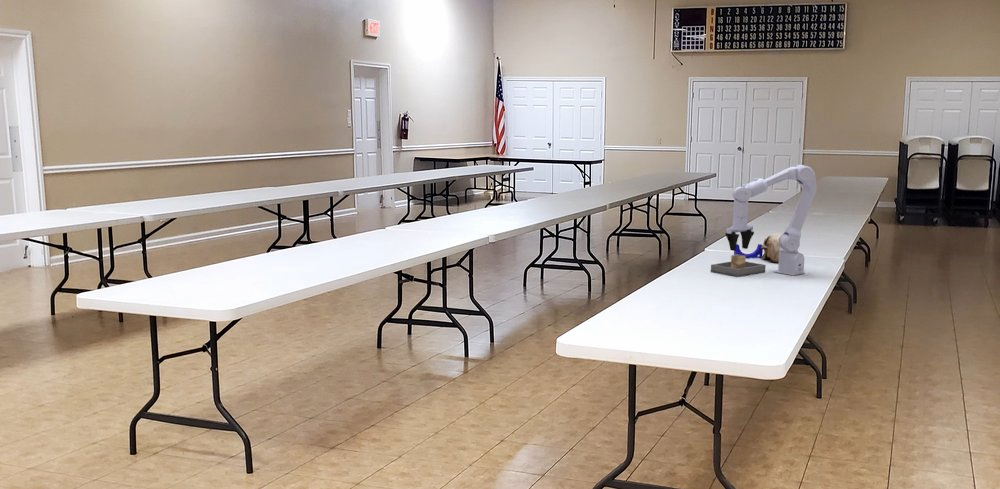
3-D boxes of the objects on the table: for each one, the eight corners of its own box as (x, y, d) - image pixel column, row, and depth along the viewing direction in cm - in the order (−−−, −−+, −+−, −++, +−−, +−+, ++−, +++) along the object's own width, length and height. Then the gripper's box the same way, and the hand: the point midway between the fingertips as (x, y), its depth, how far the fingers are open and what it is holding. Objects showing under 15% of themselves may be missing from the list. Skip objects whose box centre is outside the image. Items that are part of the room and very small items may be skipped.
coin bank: (769, 255, 384) (773, 227, 380) (803, 264, 371) (807, 235, 367) (749, 260, 374) (752, 231, 370) (783, 270, 361) (787, 240, 358)
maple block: (744, 270, 345) (745, 255, 344) (738, 271, 343) (739, 256, 342) (736, 268, 348) (737, 254, 347) (730, 269, 346) (731, 255, 345)
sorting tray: (765, 272, 345) (765, 264, 345) (737, 277, 335) (738, 269, 335) (738, 267, 356) (738, 260, 356) (710, 271, 346) (711, 264, 345)
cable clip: (735, 258, 377) (736, 245, 376) (733, 257, 381) (734, 244, 381) (763, 259, 376) (763, 245, 376) (760, 257, 381) (761, 244, 380)
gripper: (743, 214, 349) (742, 246, 352) (720, 216, 341) (719, 249, 343) (757, 215, 344) (756, 248, 346) (735, 218, 335) (733, 252, 337)
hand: (739, 249), depth 344 cm, fingers open, 7 cm apart
